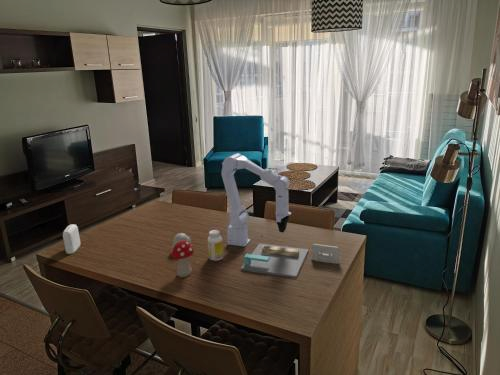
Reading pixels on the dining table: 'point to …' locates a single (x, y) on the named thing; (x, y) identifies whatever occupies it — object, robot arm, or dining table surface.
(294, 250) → the beech link
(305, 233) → the dining table surface
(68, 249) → the photo printer
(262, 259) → the plate
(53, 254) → the dining table surface
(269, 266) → the light grey baseplate
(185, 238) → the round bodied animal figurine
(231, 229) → the robot arm
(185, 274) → the decorative mushroom
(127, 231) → the dining table surface
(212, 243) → the supplement bottle
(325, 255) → the cassette
